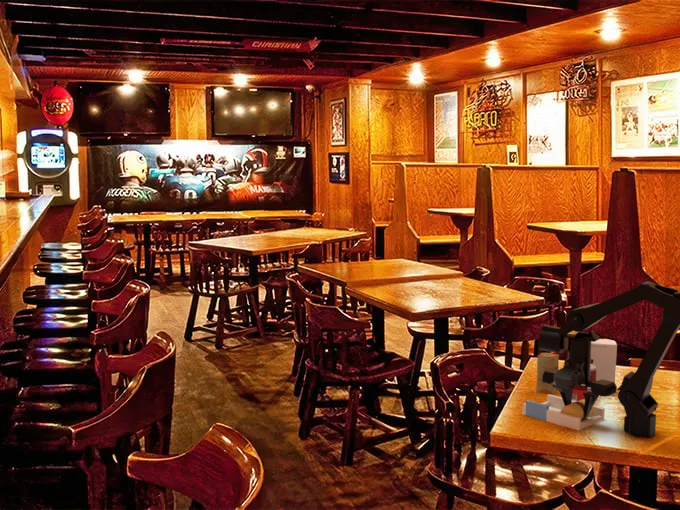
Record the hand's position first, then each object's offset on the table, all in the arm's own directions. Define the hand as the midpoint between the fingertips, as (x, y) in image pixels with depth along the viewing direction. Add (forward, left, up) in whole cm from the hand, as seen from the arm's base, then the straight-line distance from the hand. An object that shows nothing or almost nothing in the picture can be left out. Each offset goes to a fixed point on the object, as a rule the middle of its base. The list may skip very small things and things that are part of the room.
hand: (577, 413), depth 201 cm
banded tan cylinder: (0, 0, -2) cm, 2 cm away
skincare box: (+11, -31, -3) cm, 33 cm away
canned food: (+9, -17, -3) cm, 20 cm away
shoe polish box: (+20, -17, -3) cm, 27 cm away
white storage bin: (+4, 0, -3) cm, 5 cm away
